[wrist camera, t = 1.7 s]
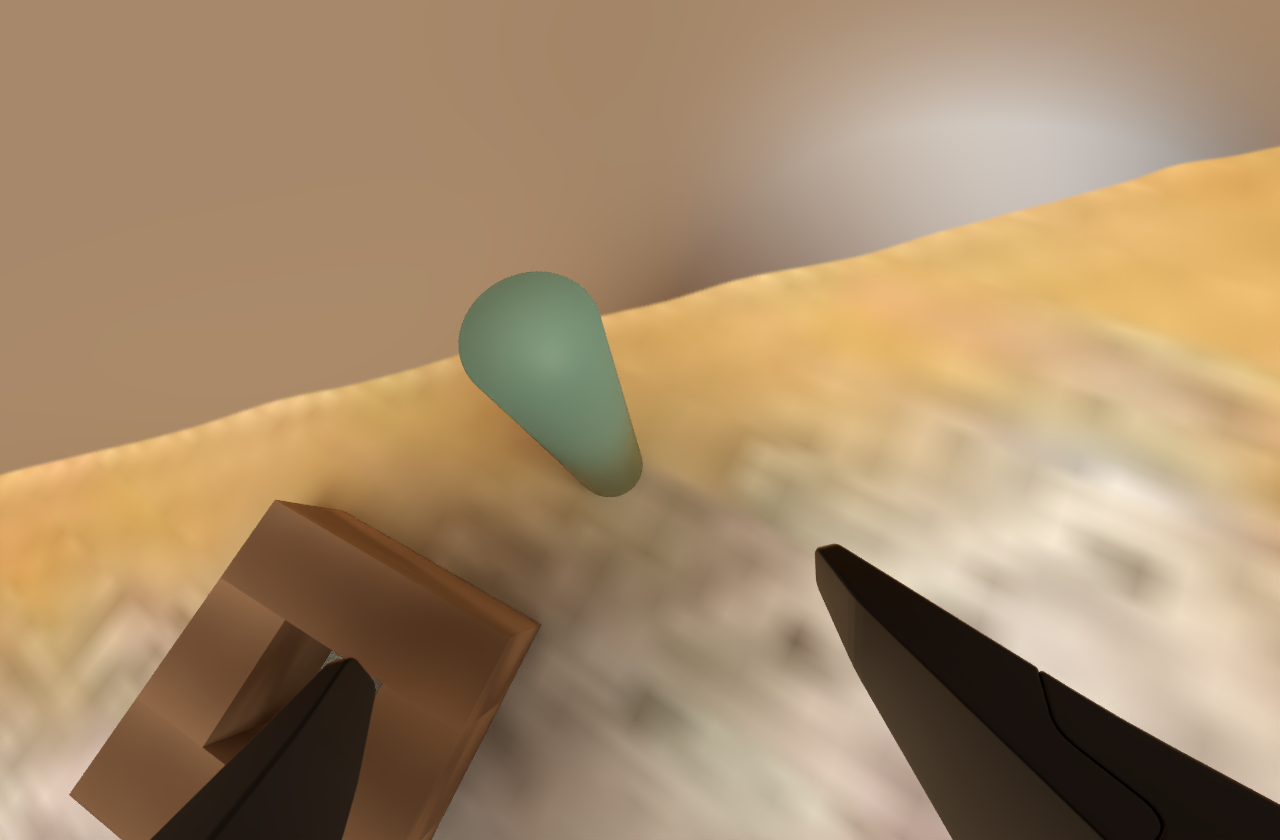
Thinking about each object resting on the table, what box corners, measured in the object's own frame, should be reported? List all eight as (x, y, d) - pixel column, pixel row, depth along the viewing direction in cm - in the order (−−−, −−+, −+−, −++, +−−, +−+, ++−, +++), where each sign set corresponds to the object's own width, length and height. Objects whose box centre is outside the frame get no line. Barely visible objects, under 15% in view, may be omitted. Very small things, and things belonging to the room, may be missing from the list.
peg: (624, 508, 21) (557, 427, 9) (567, 480, 22) (431, 367, 10) (653, 450, 22) (627, 301, 10) (597, 424, 23) (506, 253, 10)
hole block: (395, 910, 17) (317, 1005, 14) (186, 750, 20) (69, 795, 16) (540, 624, 20) (509, 638, 16) (343, 511, 22) (275, 499, 18)
